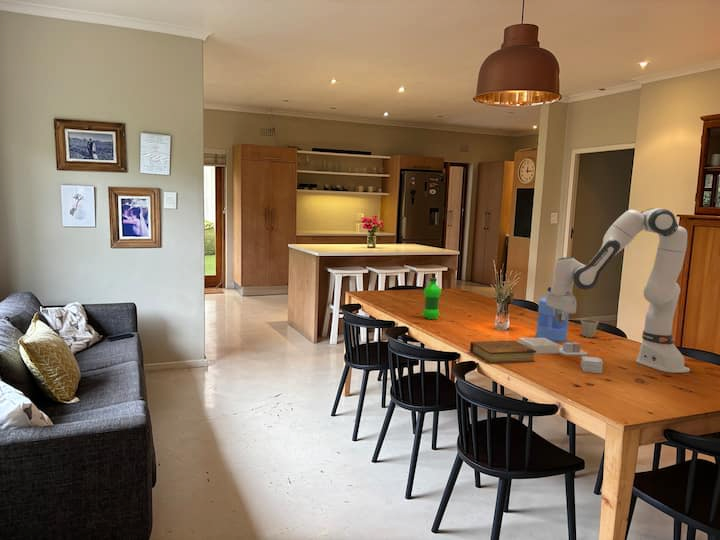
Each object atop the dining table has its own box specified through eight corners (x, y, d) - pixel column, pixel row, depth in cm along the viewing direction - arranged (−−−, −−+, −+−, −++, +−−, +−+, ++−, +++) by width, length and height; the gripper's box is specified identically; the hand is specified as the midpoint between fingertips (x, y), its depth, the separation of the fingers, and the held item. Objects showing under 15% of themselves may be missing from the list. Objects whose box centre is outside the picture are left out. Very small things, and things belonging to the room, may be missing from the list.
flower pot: (599, 339, 286) (600, 323, 285) (580, 337, 288) (582, 322, 287) (595, 335, 295) (596, 320, 294) (577, 333, 297) (578, 318, 296)
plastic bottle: (440, 320, 315) (443, 279, 312) (422, 320, 315) (425, 279, 312) (438, 317, 325) (440, 277, 322) (421, 316, 325) (423, 276, 322)
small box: (580, 366, 233) (581, 355, 232) (599, 368, 230) (600, 357, 230) (582, 371, 225) (583, 360, 224) (602, 374, 223) (603, 362, 222)
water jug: (539, 334, 292) (543, 284, 288) (569, 338, 284) (573, 287, 280) (532, 339, 278) (537, 287, 275) (563, 344, 270) (568, 291, 267)
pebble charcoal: (564, 321, 252) (565, 313, 251) (558, 321, 251) (559, 313, 250) (560, 320, 255) (560, 312, 255) (554, 320, 254) (555, 312, 254)
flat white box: (559, 354, 251) (560, 345, 251) (532, 354, 248) (533, 345, 248) (543, 346, 265) (544, 337, 264) (518, 346, 262) (518, 337, 261)
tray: (588, 356, 250) (588, 353, 250) (564, 356, 247) (564, 353, 247) (571, 348, 264) (571, 345, 263) (547, 348, 261) (547, 346, 261)
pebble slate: (572, 352, 254) (573, 344, 254) (566, 352, 253) (567, 344, 253) (568, 350, 258) (569, 342, 257) (562, 350, 257) (563, 342, 256)
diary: (512, 351, 255) (513, 340, 254) (534, 363, 237) (536, 350, 236) (469, 352, 249) (470, 340, 248) (489, 364, 231) (490, 351, 230)
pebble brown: (579, 352, 255) (580, 344, 254) (573, 352, 254) (574, 344, 254) (575, 350, 258) (575, 342, 258) (569, 350, 258) (570, 342, 257)
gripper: (581, 294, 242) (578, 323, 244) (556, 287, 262) (553, 314, 263) (569, 294, 240) (566, 323, 242) (545, 287, 260) (542, 314, 262)
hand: (559, 318), depth 253 cm, fingers closed on pebble charcoal, 4 cm apart
